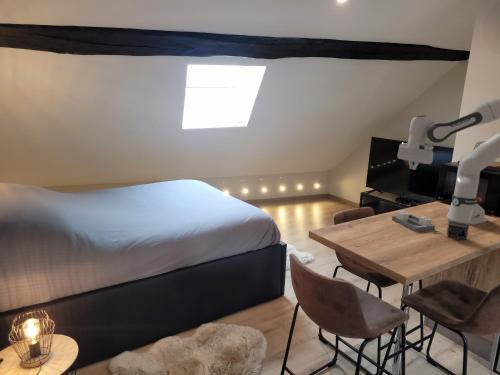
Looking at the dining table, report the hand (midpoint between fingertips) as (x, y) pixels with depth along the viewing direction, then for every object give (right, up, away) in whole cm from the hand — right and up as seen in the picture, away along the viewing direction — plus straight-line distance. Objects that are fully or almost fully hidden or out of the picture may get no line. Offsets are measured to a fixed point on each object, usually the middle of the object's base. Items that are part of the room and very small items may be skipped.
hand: (412, 169), depth 205 cm
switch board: (-2, -31, -5) cm, 32 cm away
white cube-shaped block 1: (+2, -31, -9) cm, 33 cm away
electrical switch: (+12, -36, -22) cm, 44 cm away
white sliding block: (-7, -29, -1) cm, 30 cm away
